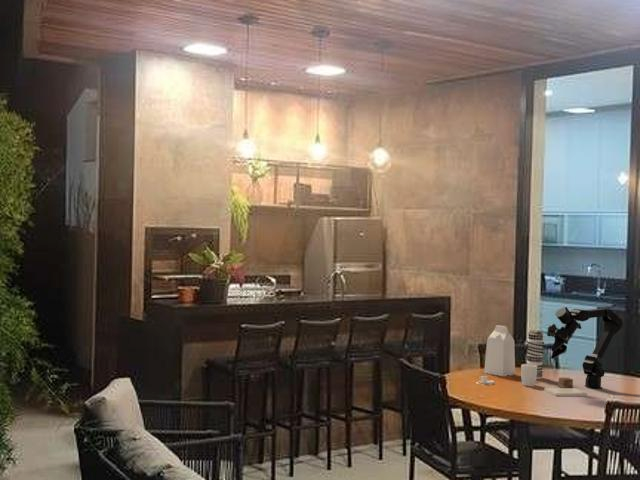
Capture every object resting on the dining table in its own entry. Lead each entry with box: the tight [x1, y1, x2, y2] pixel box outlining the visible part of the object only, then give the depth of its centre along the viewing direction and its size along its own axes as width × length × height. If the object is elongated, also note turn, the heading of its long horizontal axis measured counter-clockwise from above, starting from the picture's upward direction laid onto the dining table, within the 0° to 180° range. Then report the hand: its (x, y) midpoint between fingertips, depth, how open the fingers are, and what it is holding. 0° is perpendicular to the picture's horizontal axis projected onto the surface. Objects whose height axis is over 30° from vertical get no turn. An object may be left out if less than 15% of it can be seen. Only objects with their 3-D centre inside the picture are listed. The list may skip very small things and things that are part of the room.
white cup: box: [520, 363, 537, 387], centre depth 398 cm, size 8×8×10 cm
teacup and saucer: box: [475, 375, 495, 386], centre depth 398 cm, size 9×8×4 cm
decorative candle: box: [526, 329, 545, 380], centre depth 420 cm, size 9×9×25 cm
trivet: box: [544, 387, 588, 397], centre depth 380 cm, size 16×12×1 cm
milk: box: [483, 324, 516, 377], centre depth 428 cm, size 12×12×26 cm
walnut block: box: [558, 377, 574, 388], centre depth 393 cm, size 5×5×5 cm
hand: (551, 354), depth 384 cm, fingers open, 9 cm apart
